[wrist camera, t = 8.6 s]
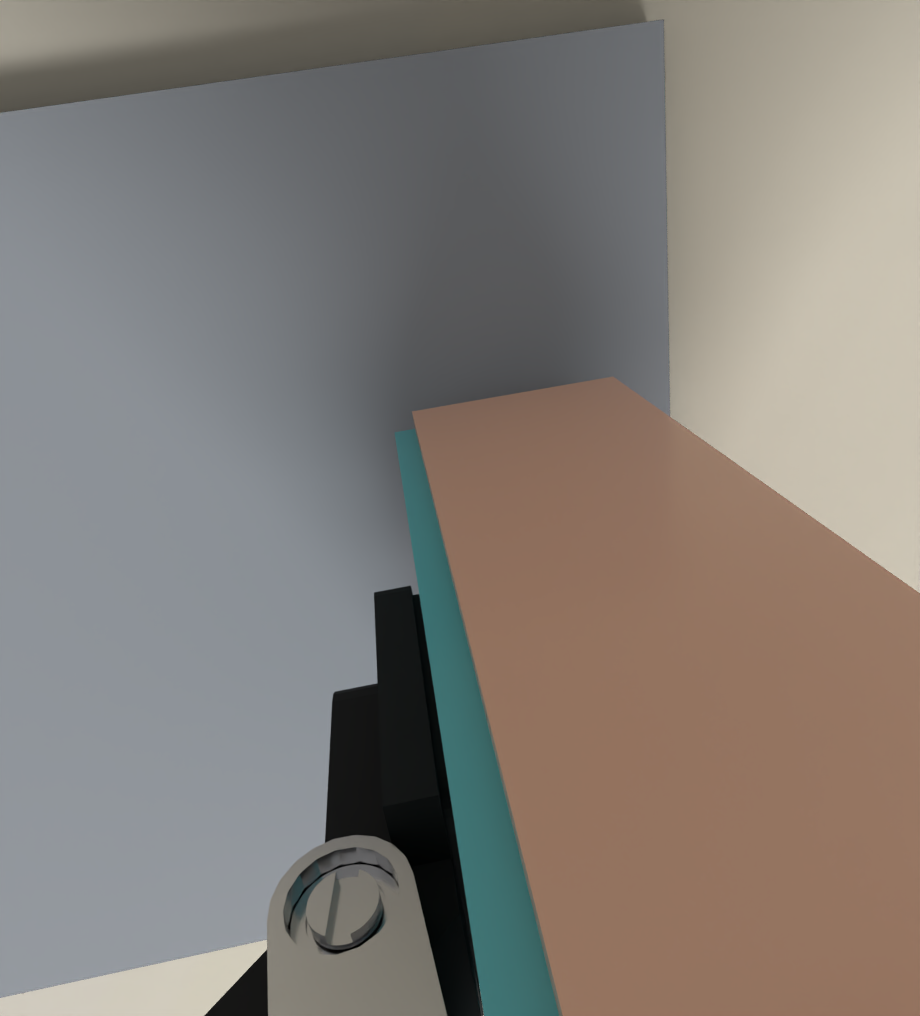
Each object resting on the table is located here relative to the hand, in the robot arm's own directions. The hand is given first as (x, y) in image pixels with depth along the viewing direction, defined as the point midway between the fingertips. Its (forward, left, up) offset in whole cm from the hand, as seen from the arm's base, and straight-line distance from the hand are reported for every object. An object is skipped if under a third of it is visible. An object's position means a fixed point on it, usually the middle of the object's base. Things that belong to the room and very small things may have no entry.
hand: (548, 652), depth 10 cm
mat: (+5, 0, -3) cm, 6 cm away
